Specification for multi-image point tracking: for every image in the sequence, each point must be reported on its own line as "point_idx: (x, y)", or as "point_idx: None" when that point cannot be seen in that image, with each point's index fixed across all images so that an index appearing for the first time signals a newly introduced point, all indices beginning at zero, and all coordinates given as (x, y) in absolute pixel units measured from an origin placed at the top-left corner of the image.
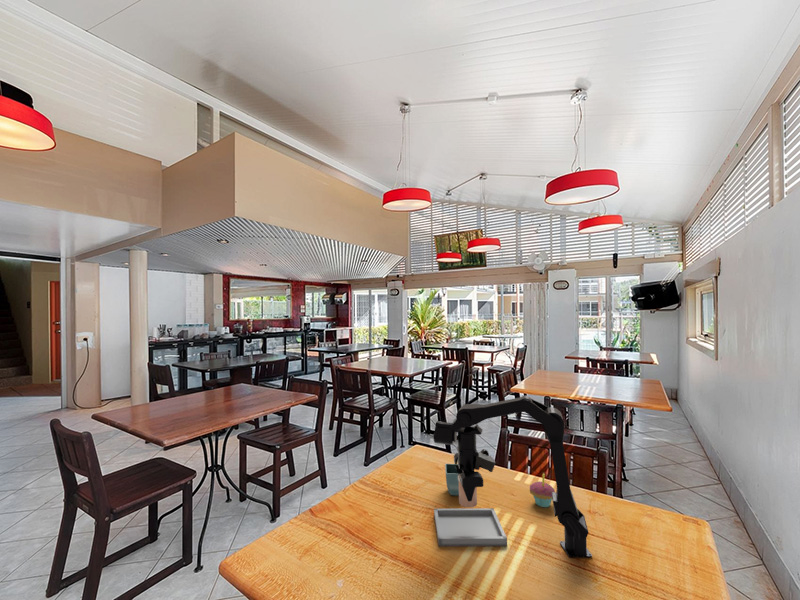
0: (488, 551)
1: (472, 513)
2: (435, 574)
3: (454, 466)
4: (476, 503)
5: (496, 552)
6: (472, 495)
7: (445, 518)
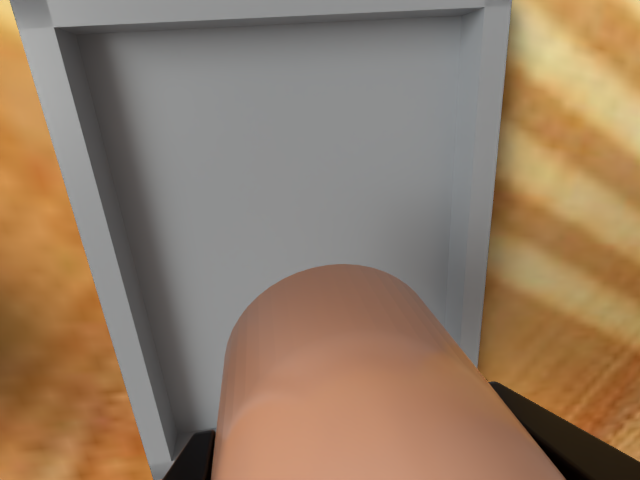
0: (515, 139)
1: (116, 214)
2: (619, 388)
3: None
4: (392, 280)
5: (530, 87)
6: (600, 446)
7: (208, 388)
